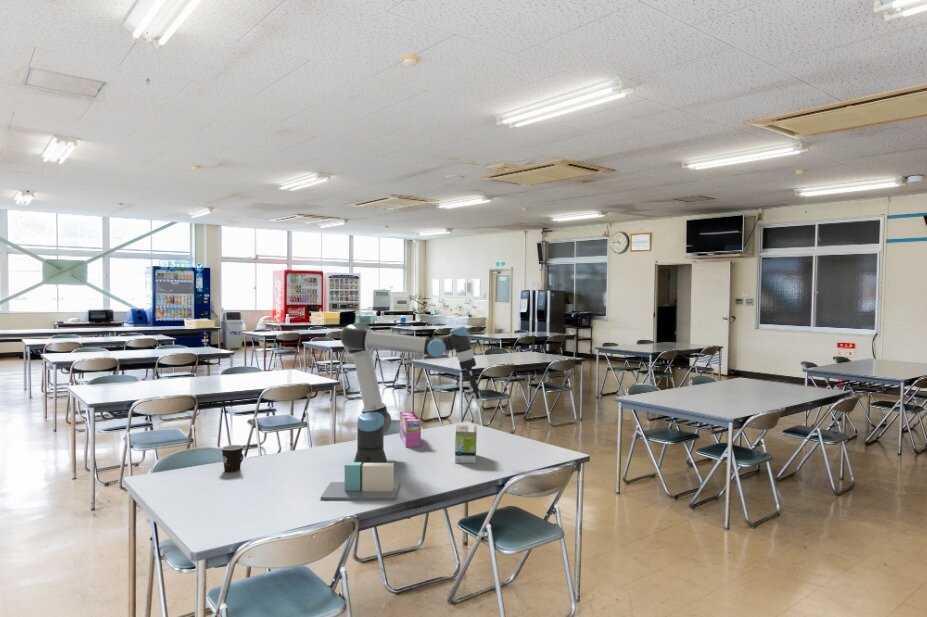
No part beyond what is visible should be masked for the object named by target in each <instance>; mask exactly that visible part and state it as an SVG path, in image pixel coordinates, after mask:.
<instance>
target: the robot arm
mask: <svg viewBox="0 0 927 617" xmlns="http://www.w3.org/2000/svg"><path fill="white" fill-rule="evenodd" d="M449 332H450V333H449V334H446V335H442V336H438V337H433V338H429V337H421V336H413V335H405V334H394V333H388V332H387V333H385V332H378V331H373V330H372V328H371V327H370V326H369V325H368V324H367V323H363V322H356V323H352V324H348V325H346V326H345V327H344V328H343V329H342V330H341V332H340V341H341V344H342V345H343V346H344V347H345V348H347V350H348V354H349V356H352V357H353V362H354V365H355V371H356V376H357V379H358V386H359V388H360V393H361V398H362V403H363V407H362V409H361V414H360V415H359V416H358V417H357V422H356V427H357V428H356V430H357V433H356V434H357V436H356V437H357V439H356V440H357V441H356V442H357V449H356V454H355V457H354V460H353V462H362V464H363V463H388V459H387V455H386V453H385V449H384V448H385V446H384V442H385V441H384V435H385V434H386V433H387V432H388V431H389V430H390V428H391V425H392V416H391V414H390V413H389V411H388V409H387V404H385V403H384V402H383V401H382V396H381V391H380V386H379V382H378V377H377V373H376V368H375V363H374V359H373V354H372V352H373V351H374V350H383V351H389V352H390V351H392V352H398V353H406V354H407V353H408V354H416V355H417V354H418V355H425V356H431V357H433V358H434V357H435V358H439V357H441V356H443V355H444V354H445V353H447V352H451V351H454V350H455V354H456V356H457V360H458V363H459V367H460V369H461V370H465V374H466V377H467V380H468V381H469V386H470V388H471V393H472V396H473V399H474V402H475V404H476V407H481V406H483V400H482V397H481V393H480V389H479V386H478V382H477V378H476V373H475V370H474V369H473V368H475V367H476V366H477V362H476V359H475V358H474V352H475V351H474V349H472V344H471V341H470V337H469V333H468V331H467V328H466V327H465V326H459V327H455V328H452V329H450V330H449Z"/></svg>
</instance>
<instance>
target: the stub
mask: <svg viewBox="0 0 927 617" xmlns="http://www.w3.org/2000/svg"><path fill="white" fill-rule="evenodd" d="M344 482H345V491H360V490H361V484H362V462H354V461H346V462H345V464H344Z"/></svg>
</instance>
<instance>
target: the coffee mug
mask: <svg viewBox="0 0 927 617" xmlns="http://www.w3.org/2000/svg"><path fill="white" fill-rule="evenodd" d="M243 446H244V445H241V444H240V445H239V444H230V445H225V446H222V447H221V452H222V455H221V456H222V460H223V461H222V462H223V469H224V472H225V473H237V472H239V471H241V465H242V462H243V461H244V455H243V449H244V448H243ZM238 470H239V471H238ZM236 471H237V472H236Z"/></svg>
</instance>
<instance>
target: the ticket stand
mask: <svg viewBox="0 0 927 617" xmlns="http://www.w3.org/2000/svg"><path fill="white" fill-rule="evenodd" d="M394 464H395V463H394V462H387V463H363V464H362V484H361V490H360V491H345V481H330V482H329V484H328V485H327V486H326V488H325V490H323V493H322V495H321V496H320V501H396V497H397V495H398V491H399V487H400V481H399V482H397V481H395V480H394V474H395V473H394V472H395V470H394V469H395V468H394V466H395V465H394Z"/></svg>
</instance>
